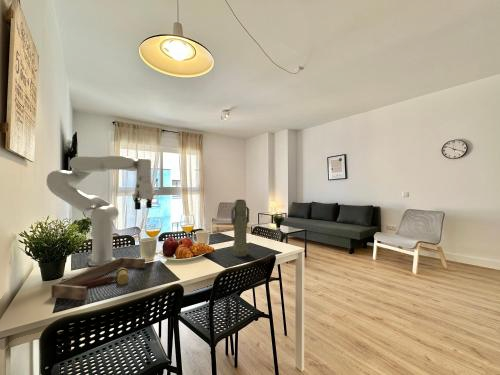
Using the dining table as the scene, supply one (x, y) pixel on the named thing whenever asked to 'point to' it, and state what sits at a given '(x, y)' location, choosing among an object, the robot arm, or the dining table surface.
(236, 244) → the tall olive-grey vase
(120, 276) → the gavel
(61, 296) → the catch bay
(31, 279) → the dining table surface
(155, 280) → the dining table surface
